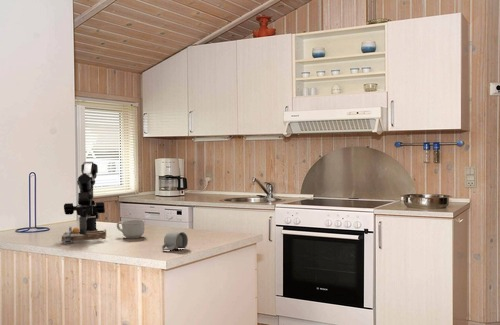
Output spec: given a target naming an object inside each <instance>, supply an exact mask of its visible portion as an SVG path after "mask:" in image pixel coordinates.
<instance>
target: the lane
mask: <svg viewBox="0 0 500 325" xmlns="http://www.w3.org/2000/svg"><path fill="white" fill-rule="evenodd" d="M67 232H68V231H67ZM67 232H66V231H65V232H64V233H63V234H66V233H67ZM63 234H62V235H61V242H64V241H65V237H63ZM71 234H74V233H73V232H72V233H71ZM78 234H80V231H79V233H78ZM106 237H107V229H105V228H104V229H103V230H96V231H86V234H83V236H71V237H70V241H77V240H78V241H80V240H84V241H85V240H95V239H96V240H98V238H102V239H106Z"/></svg>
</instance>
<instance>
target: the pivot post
mask: <svg viewBox="0 0 500 325" xmlns="http://www.w3.org/2000/svg"><path fill="white" fill-rule="evenodd" d="M61 244H62V245H71V244H74V240H70V237H65V241H61Z"/></svg>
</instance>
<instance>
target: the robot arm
mask: <svg viewBox="0 0 500 325" xmlns="http://www.w3.org/2000/svg"><path fill="white" fill-rule="evenodd" d="M80 171H81V174H80V175H79V176H78V178H77V182H76V183H77V186H78V188H79V192H78V194H77V195H78V196H77V197H78V198H77V204H76V205H75V206H74V204H73V202H71V203H69V202H67V203H66V202H65V203H64V204H63V210H64V214H65V216H69V215H73V214H74V212H75V211H76V215H77V216H79V217H86V231H99V230H98V229H97V220H98V219H100V217H99V214H104V213H106V204H105V202H104V201H97V202H95V200H94V186H95V184H96V180H95V179H96V178H97V176H98V175H97V174H98V172H99V170H98V164H96V163H94V161H84V162H83V163H82V164H81V167H80Z"/></svg>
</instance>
